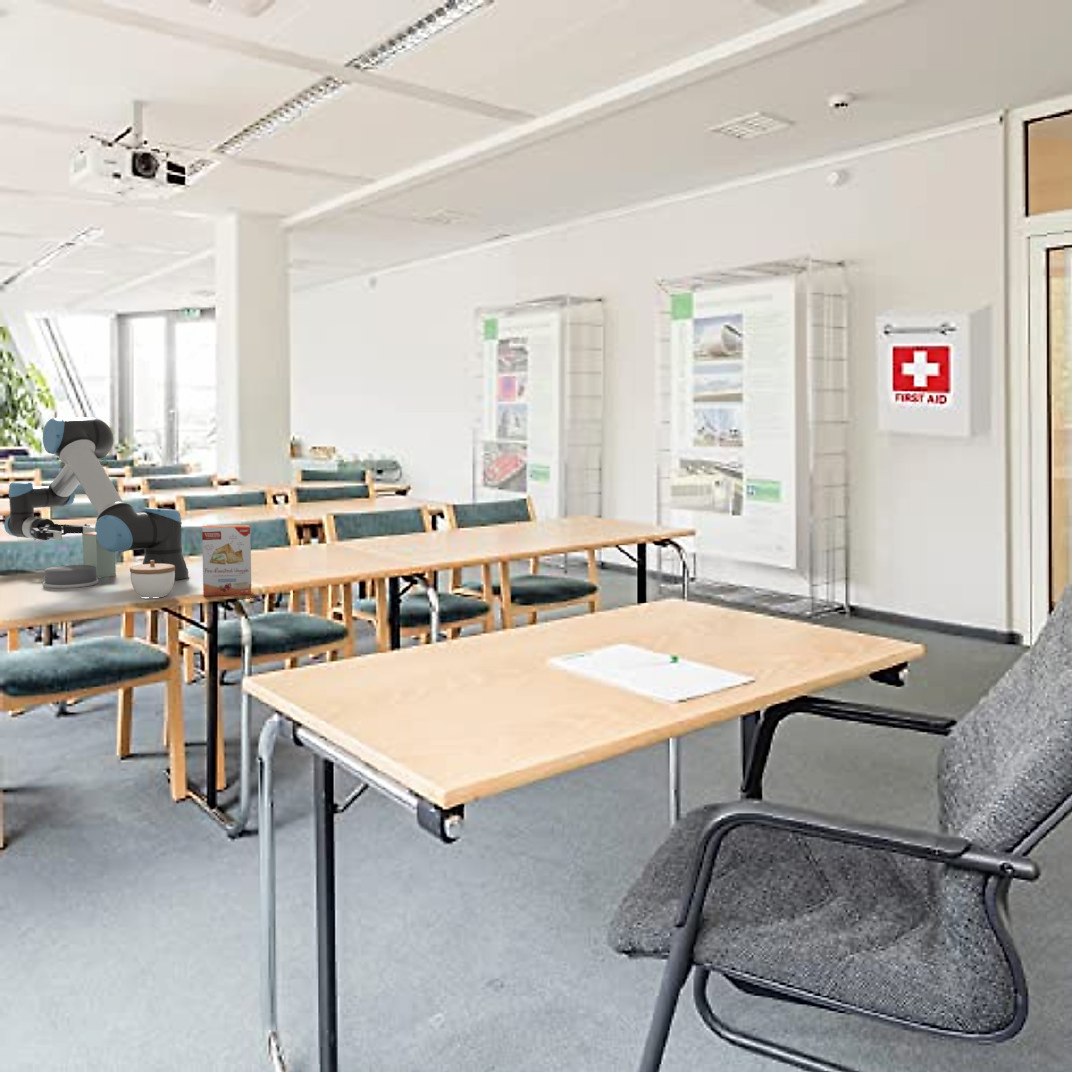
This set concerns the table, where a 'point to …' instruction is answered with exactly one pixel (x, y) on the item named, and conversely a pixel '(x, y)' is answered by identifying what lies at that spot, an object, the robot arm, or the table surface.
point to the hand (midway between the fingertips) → (78, 533)
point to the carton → (98, 556)
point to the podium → (70, 576)
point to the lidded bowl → (152, 579)
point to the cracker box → (226, 560)
